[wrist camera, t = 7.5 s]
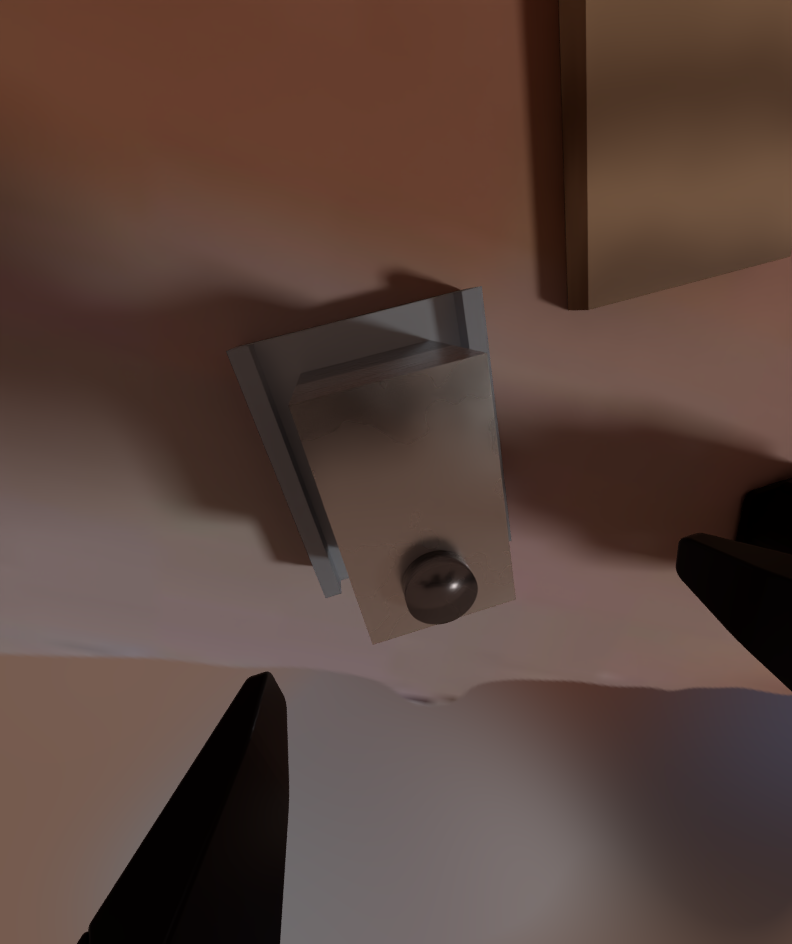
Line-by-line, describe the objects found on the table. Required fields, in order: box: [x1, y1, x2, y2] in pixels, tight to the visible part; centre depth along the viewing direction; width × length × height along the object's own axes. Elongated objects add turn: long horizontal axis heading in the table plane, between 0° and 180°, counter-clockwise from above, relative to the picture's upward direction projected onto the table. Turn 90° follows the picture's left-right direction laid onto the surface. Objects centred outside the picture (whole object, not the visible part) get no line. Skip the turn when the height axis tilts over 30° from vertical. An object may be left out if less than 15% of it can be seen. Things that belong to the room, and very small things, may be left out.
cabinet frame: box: [226, 286, 511, 598], centre depth 17 cm, size 12×10×2 cm
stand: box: [559, 0, 792, 310], centre depth 15 cm, size 12×10×2 cm
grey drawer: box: [288, 340, 516, 645], centre depth 14 cm, size 6×9×7 cm, turn 13°
